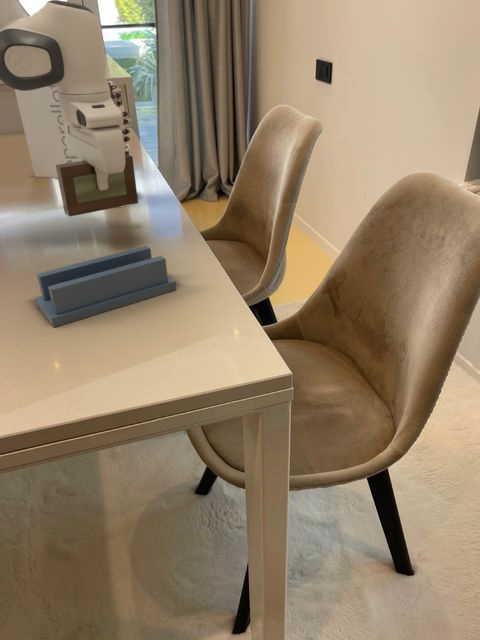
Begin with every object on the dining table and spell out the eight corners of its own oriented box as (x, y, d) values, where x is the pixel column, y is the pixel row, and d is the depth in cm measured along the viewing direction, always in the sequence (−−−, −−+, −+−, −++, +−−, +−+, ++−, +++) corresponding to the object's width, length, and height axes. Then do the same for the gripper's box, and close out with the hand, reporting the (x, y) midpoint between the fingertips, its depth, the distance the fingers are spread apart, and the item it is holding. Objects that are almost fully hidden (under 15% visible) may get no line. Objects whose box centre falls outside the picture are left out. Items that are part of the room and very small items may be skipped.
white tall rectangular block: (35, 180, 144) (4, 48, 128) (45, 174, 149) (16, 46, 132) (87, 181, 142) (63, 48, 126) (96, 175, 147) (73, 46, 131)
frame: (138, 202, 111) (132, 156, 106) (69, 216, 104) (59, 167, 99) (133, 199, 113) (127, 153, 108) (64, 213, 106) (55, 164, 101)
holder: (176, 289, 90) (173, 258, 87) (53, 327, 81) (45, 293, 78) (154, 273, 96) (150, 242, 93) (36, 306, 86) (28, 274, 83)
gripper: (49, 102, 104) (63, 177, 112) (90, 119, 90) (103, 203, 98) (82, 99, 107) (94, 172, 115) (127, 115, 93) (137, 197, 101)
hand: (98, 186), depth 106 cm, fingers closed on frame, 2 cm apart
